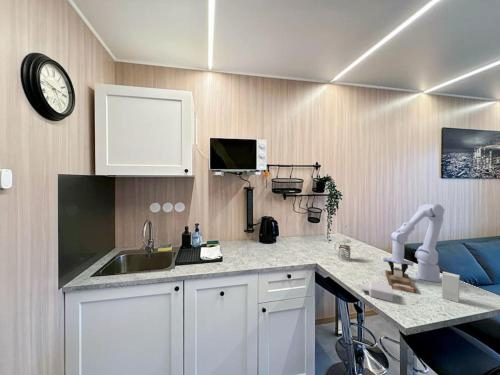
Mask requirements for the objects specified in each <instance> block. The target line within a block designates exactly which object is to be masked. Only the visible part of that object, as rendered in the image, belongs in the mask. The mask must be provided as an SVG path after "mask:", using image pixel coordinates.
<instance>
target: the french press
mask: <svg viewBox="0 0 500 375" xmlns="http://www.w3.org/2000/svg"><path fill="white" fill-rule="evenodd" d="M343 227H344V228H347V224H343ZM340 242H341V243H344V244H340ZM346 243H347V244H346ZM348 243H349V244H350V243H352V241H351V239H349V238H346V237H344V238H343V237H342V238H339V239H338V241H337V244H338V245H339V247H338V250H337V249H336V246H337V244H334V250H335V251H336V252H337V257H336V259H337V260H338V261H340V262H344V263H350V262H352V261H353V260H352V259H351V246H350V245H348Z"/></svg>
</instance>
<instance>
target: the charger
mask: <svg viewBox="0 0 500 375" xmlns="http://www.w3.org/2000/svg"><path fill="white" fill-rule="evenodd" d="M368 283H369V284H366V283H365V284H364V283H361V284H357V287H358V288H361V291H363V292H364V291H365V292H368V295H369V296H370V297H371V298H374V297H375V299H378V298H379V300H382V301H383V300H384V301H387V302H390V303H393V302H394V291H393V290H394V289H392V286H390V285H389V284H387V283H386V284H385V283H382V282H381V283H380V282H376V281H369V282H368Z"/></svg>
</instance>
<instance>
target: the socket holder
mask: <svg viewBox="0 0 500 375" xmlns="http://www.w3.org/2000/svg"><path fill="white" fill-rule="evenodd" d="M384 273H385V276H386V280H387V282H388V285H390V286H392V290H397V291H403V292H408V293H413V294H417V288H416V287H415V285H414V283H413V282H412V279H411V278H410V276H409V274H408V273H406V272H405V273H404V276H403V277H402V278H401V277H395V276H392V272H391V270H388V269H385V270H384Z"/></svg>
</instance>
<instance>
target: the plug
mask: <svg viewBox="0 0 500 375" xmlns="http://www.w3.org/2000/svg"><path fill="white" fill-rule="evenodd" d="M402 273H403V272H402V270H401V268H400V267H395V266H394V276H395V277H401V278H403V277H402ZM391 276H393V275H391Z"/></svg>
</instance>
